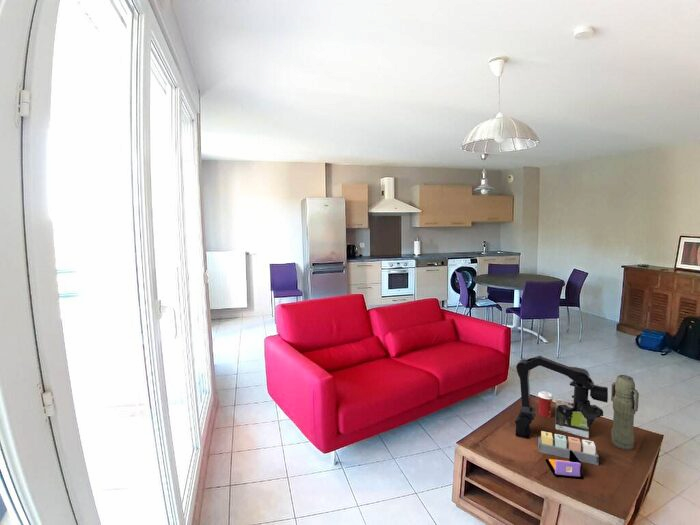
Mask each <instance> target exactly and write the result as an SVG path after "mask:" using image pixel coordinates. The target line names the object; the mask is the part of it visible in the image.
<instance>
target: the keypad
mask: <svg viewBox="0 0 700 525" xmlns="http://www.w3.org/2000/svg"><path fill="white" fill-rule="evenodd" d="M537 439H538V444H537V445H538V452H540V453H544V454H546V455H552V456H556V457H561V458H564V459H568V460H569V455H570V450H569V448H568V441H567V444H566V449H565V448H560V447H555V444H554V439H553V445H552V446H551V445H546V444H542V443H541V436H540V435H539V436H538V438H537ZM572 452H573V453H574V454H575V456H576V457H577V458H578V460H579V461H580V462H582V463H587V464H592V465H595V466H599V461H600V460H599V458H600V456H599V454H598V452H597V449H596V450H595V455H592V454H588V453H583V451H582V444H581V452H578V451H574V450H572Z"/></svg>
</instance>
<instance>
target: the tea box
mask: <svg viewBox="0 0 700 525" xmlns="http://www.w3.org/2000/svg"><path fill="white" fill-rule="evenodd" d="M571 403H573V400H572V399H564V398H560V397H556V398H555V430H557V431H561V432H565V433H569V434H573V435H575V436H578V437H579V436H580V437H583V438H587V439H589V438H590V428H588V427H587V419H586V418H584V416H583V414H582V413H581V412H573V415H572V416H573V417H572V418H571V428H569V427H568V424H567V422H566V420H565V417H564V415H563V414H561V413H560V412H559V411H558V410H557V407H558V405H567V406H568V407H569V408H573V406H571Z"/></svg>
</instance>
